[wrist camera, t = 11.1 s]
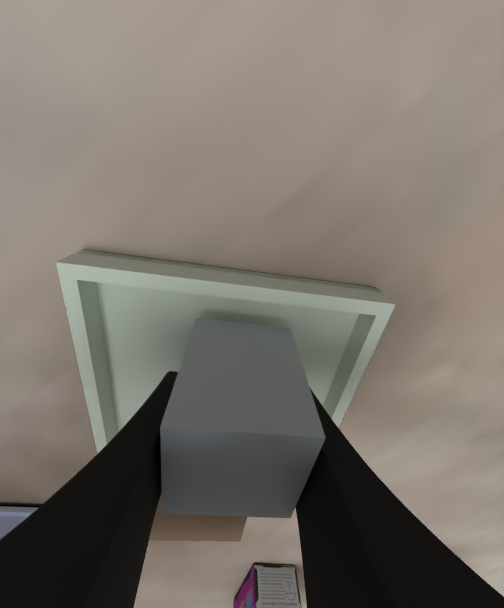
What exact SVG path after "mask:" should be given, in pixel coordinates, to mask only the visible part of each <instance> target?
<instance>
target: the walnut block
mask: <svg viewBox="0 0 504 608" xmlns="http://www.w3.org/2000/svg"><path fill="white" fill-rule="evenodd" d="M246 519H247V517H244V516H215V515H186V514H162V493H161V496H160V499H159V502H158V506H157V509H156V513H155V517H154V520H153V524H152V528H151V533H150V537H149V540H192V541H239V542H240V541H241V537H242V533H243V530H244V526H245V523H246Z"/></svg>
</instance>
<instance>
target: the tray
mask: <svg viewBox="0 0 504 608" xmlns="http://www.w3.org/2000/svg"><path fill="white" fill-rule="evenodd" d="M56 264H57V269H58V274H59V278H60V283H61V287H62V292H63V297H64V301H65V306H66V310H67V315H68V320H69V324H70V329H71V333H72V338H73V343H74V347H75V352H76V356H77V361H78V366H79V370H80V375H81V379H82V384H83V389H84V393H85V398H86V402H87V407H88V412H89V416H90V421H91V425H92V430H93V435H94V439H95V444H96V448H97V453H99V452H100V451H101V450H102V449H103V448H104V447H105V446H106V445H107V444H108V443H109V442H110V441H111V440H112V438H113V437H114V436H115V435H116V434H117V433H118V432H119V431H120V430H121V429H122V428H123V427H124V426H125V424H126V423H127V422H128V421H129V420H130V419H131V418H132V417H133V415H134V414H135V413H136V412H137V411H138V410H139V408H140V407H141V406H142V405H143V404H144V402H145V401H146V400H147V399H148V397H149V396H150V395H151V394H152V392H153V391H154V390H155V389H156V387H157V386H158V385H159V383H160V382H161V380H162V379H163V378H164V376H165V375H166V373H167V372H169V371H176V372H178V371H179V368H180V365H181V362H182V359H183V356H184V353H185V350H186V347H187V344H188V341H189V338H190V335H191V332H192V329H193V326H194V323H195V320H196V318H203V319H212V320H221V321H230V322H239V323H248V324H257V325H266V326H275V327H284V328H291V330H292V333H293V337H294V340H295V343H296V346H297V349H298V352H299V356H300V359H301V362H302V365H303V368H304V371H305V374H306V378H307V381H308V384H309V387H310V388H311V390H312V391H313V393H314V394H315V396H316V397H317V399H318V400H319V401H320V403H321V404H322V406H323V407H324V409H325V410H326V412H327V413H328V414H329V416H330V417H331V419H332V420H333V421H334V423H335V424H336V426H337V427H338V428H339V425H340V423H341V421H342V419H343V417H344V415H345V413H346V410H347V408H348V406H349V404H350V402H351V400H352V397H353V395H354V393H355V391H356V389H357V387H358V385H359V382H360V380H361V378H362V376H363V374H364V372H365V370H366V367H367V365H368V363H369V361H370V359H371V357H372V354H373V352H374V350H375V348H376V346H377V344H378V342H379V339H380V337H381V335H382V333H383V331H384V329H385V327H386V324H387V322H388V320H389V318H390V316H391V314H392V311H393V309H394V307H395V305H396V304H395V303H394V302H392V301H391V300H390V299H389V298H388V297H386V296H385V295H384V294H383V293H382V292H380V291H379V290H378V289H377V288H375V287H367V286H359V285H352V284H344V283H336V282H329V281H321V280H313V279H306V278H298V277H290V276H283V275H275V274H267V273H260V272H252V271H244V270H237V269H229V268H221V267H214V266H206V265H198V264H191V263H183V262H175V261H168V260H160V259H152V258H144V257H137V256H129V255H121V254H114V253H106V252H98V251H91V250H81V251H79V252H77V253H75V254H72V255H70V256H68V257H66V258H64V259H62V260H60V261H57V262H56Z"/></svg>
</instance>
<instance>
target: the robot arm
mask: <svg viewBox="0 0 504 608" xmlns="http://www.w3.org/2000/svg"><path fill="white" fill-rule="evenodd" d="M177 374H178V372H176V371H169V372H167V373H166V375H165V376H164V378H163V379H162V380H161V382H160V383H159V385H158V386H157V387H156V389H155V390H154V391H153V392H152V394H151V395H150V396H149V397H148V399H147V400H146V401H145V402H144V404H143V405H142V406H141V407H140V408H139V410H138V411H137V412H136V413H135V414H134V415H133V417H132V418H131V419H130V420H129V421H128V422H127V423H126V424H125V426H124V427H123V428H122V429H121V430H120V431H119V432H118V433H117V434H116V435H115V436H114V437H113V438H112V440H111V441H110V442H109V443H108V444H107V445H106V446H105V447H104V448H103V449H102V450H101V451H100V452H99V453H98V454H97V455H96V456H95V457H94V458H93V459H92V460H91V461H90V462H89V463H88V464H87V465H86V466H85V467H83V468H82V469H81V470H80V471H79V472H78V473H77V474H76V475H75V476H74V477H73V478H72V479H71V480H69V481H68V482H67V483H66V484H65V485H64V486H63V487H62V488H61V489H59V490H58V491H57V492H56V493H55V494H54V495H53V496H52V497H50V498H49V499H48V500H47V501H46V502H45V503H44V504H42V505H41V506H40V507H39V508H38V507H7V506H0V608H133V607H134V602H135V598H136V594H137V589H138V585H139V580H140V576H141V572H142V567H143V563H144V558H145V554H146V550H147V546H148V541H149V537H150V533H151V528H152V524H153V520H154V517H155V513H156V509H157V506H158V502H159V499H160V496H161V493H162V477H161V436H160V426H161V423H162V420H163V417H164V414H165V411H166V408H167V405H168V402H169V399H170V396H171V393H172V390H173V387H174V384H175V381H176V377H177ZM310 390H311V388H310ZM311 393H312V396H313V400H314V403H315V406H316V409H317V412H318V415H319V418H320V422H321V425H322V428H323V431H324V434H325V437H326V438H325V440H324V443H323V445H322V447H321V450H320V452H319V454H318V456H317V459H316V461H315V463H314V466H313V468H312V470H311V472H310V475H309V477H308V479H307V482H306V484H305V486H304V488H303V491H302V493H301V495H300V497H299V500H298V502H297V504H296V513H297V519H298V525H299V534H300V542H301V551H302V560H303V570H304V580H305V590H306V601H307V608H504V597H503V596H502V595H501V594H500V593H498V592H497V591H496V590H495V589H494V588H492V587H491V586H490V585H489V584H488V583H487V582H485V581H484V580H483V579H482V578H481V577H480V576H479V575H477V574H476V573H475V572H474V571H473V570H472V569H471V568H470V567H469V566H467V565H466V564H465V563H464V562H463V561H462V560H461V559H460V558H459V557H457V556H456V555H455V554H454V553H453V552H452V551H451V550H450V549H449V548H448V547H447V546H445V545H444V544H443V543H442V542H441V541H440V540H439V539H438V538H437V537H436V536H435V535H434V534H433V533H432V532H431V531H430V530H429V529H428V528H427V527H426V526H425V525H424V524H423V523H422V522H421V521H420V520H419V519H418V518H417V517H416V516H414V515H413V514H412V513H411V512H410V511H409V510H408V509H407V508H406V507H405V506H404V505H403V504H402V502H401V501H400V500H399V499H398V498H397V497H396V496H395V495H394V494H393V493H392V492H391V491H390V490H389V489H388V488H387V486H386V485H385V484H384V483H383V482H382V481H381V480H380V479H379V478H378V477H377V475H376V474H375V473H374V472H373V471H372V470H371V469H370V467H369V466H368V465H367V464H366V463H365V461H364V460H363V459H362V458H361V457H360V455H359V454H358V453H357V452H356V450H355V449H354V448H353V447H352V445H351V444H350V443H349V441H348V440H347V439H346V438H345V436H344V435H343V434H342V432H341V431H340V430H339V428H338V427H337V426H336V424H335V423H334V421H333V420H332V419H331V417H330V416H329V414H328V413H327V412H326V410H325V409H324V407H323V406H322V404H321V403H320V401H319V400H318V399H317V397H316V396H315V394H314V393H313V391H312V390H311Z"/></svg>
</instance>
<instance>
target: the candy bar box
mask: <svg viewBox="0 0 504 608" xmlns="http://www.w3.org/2000/svg"><path fill="white" fill-rule="evenodd" d="M233 606H234V608H301V602H300V594H299V588H298V581H297V574H296V568H295V566H292V565H285V564H254V565H253V566H252V568H251V570H250V572H249V574H248V576H247V577H246V579H245V581H244V583H243V585H242V587H241V589H240V591H239V593H238V594H237V596H236V598H235V600H234V602H233Z"/></svg>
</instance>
